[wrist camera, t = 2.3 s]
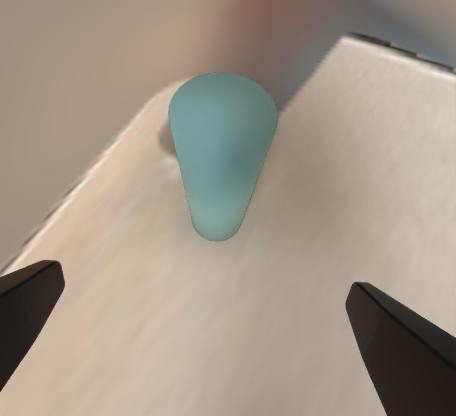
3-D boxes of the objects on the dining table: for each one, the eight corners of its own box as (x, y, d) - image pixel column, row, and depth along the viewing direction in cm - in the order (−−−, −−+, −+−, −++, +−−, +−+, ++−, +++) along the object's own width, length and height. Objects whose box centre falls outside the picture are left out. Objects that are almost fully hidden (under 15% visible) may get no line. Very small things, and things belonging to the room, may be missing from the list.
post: (223, 251, 21) (240, 179, 9) (181, 223, 22) (144, 120, 10) (250, 211, 23) (296, 103, 10) (210, 185, 23) (210, 57, 11)
